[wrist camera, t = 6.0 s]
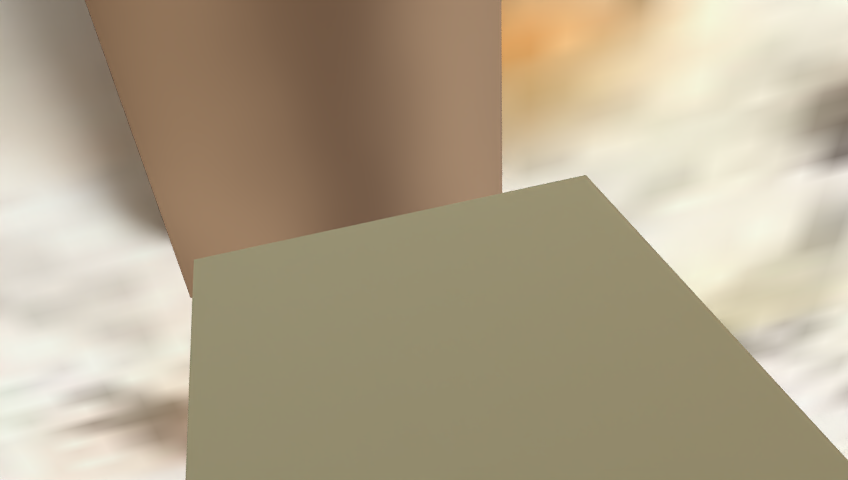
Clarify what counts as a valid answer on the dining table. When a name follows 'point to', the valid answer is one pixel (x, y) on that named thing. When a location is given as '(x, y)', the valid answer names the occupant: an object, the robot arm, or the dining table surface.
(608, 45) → the dining table surface
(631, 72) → the dining table surface
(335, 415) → the sage cube
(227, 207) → the walnut block
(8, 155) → the dining table surface
